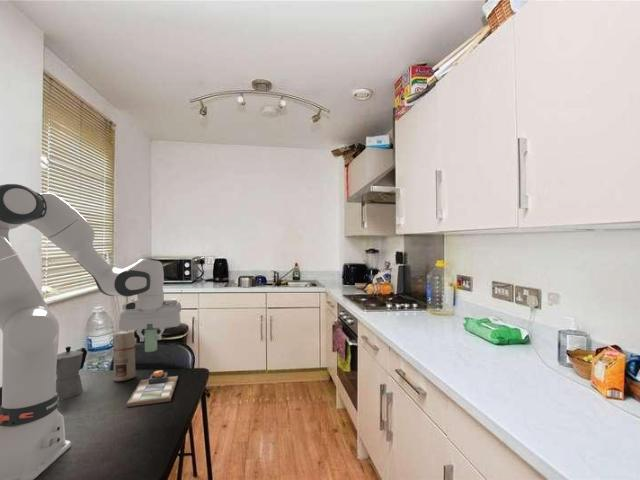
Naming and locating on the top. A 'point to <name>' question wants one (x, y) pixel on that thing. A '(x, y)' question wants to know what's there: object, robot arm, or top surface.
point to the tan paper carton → (124, 356)
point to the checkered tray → (153, 390)
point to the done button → (158, 374)
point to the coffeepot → (69, 372)
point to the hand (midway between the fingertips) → (150, 340)
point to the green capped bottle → (150, 338)
